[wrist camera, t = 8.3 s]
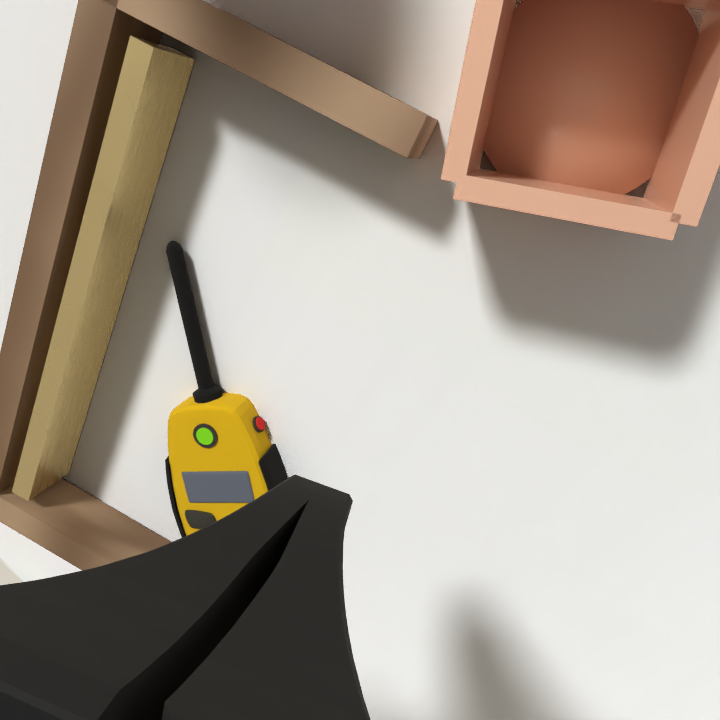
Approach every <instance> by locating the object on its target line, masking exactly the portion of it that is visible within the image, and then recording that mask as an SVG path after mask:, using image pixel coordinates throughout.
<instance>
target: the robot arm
mask: <svg viewBox="0 0 720 720" xmlns="http://www.w3.org/2000/svg"><path fill="white" fill-rule="evenodd" d="M352 502H353V501H352V499H351V497H350V495H349V494H347V493H344V492H341V491H338V490H336V489H333V488H330V487H328V486H325V485H322V484H319V483H317V482H314V481H311V480H308V479H306V478H303V477H300V476H297V475H293V476H291V477H289V478H288V479H286V480H285V481H283V482H282V483H280V484H278V485H277V486H275V487H274V488H272V489H271V490H269V491H268V492H266V493H265V494H263V495H261V496H260V497H258V498H257V499H255V500H253V501H252V502H250V503H248V504H246V505H245V506H243V507H241V508H240V509H238V510H236V511H234V512H233V513H231V514H229V515H227V516H225V517H224V518H222V519H220V520H218V521H216V522H214V523H212V524H210V525H208V526H206V527H204V528H202V529H200V530H198V531H196V532H194V533H192V534H190V535H187V536H185V537H183V538H181V539H178V540H176V541H174V542H171V543H169V544H166V545H164V546H161V547H159V548H156V549H154V550H151V551H148V552H145V553H142V554H139V555H136V556H132V557H129V558H126V559H123V560H119V561H116V562H113V563H109V564H106V565H103V566H99V567H95V568H91V569H87V570H83V571H79V572H75V573H70V574H65V575H60V576H56V577H51V578H46V579H40V580H35V581H29V582H22V583H15V584H8V585H0V720H370V717H369V714H368V711H367V708H366V704H365V701H364V698H363V694H362V690H361V686H360V682H359V679H358V675H357V671H356V667H355V663H354V659H353V654H352V649H351V644H350V638H349V633H348V626H347V619H346V612H345V602H344V589H343V539H344V530H345V526H346V522H347V519H348V516H349V512H350V509H351V505H352Z"/></svg>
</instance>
